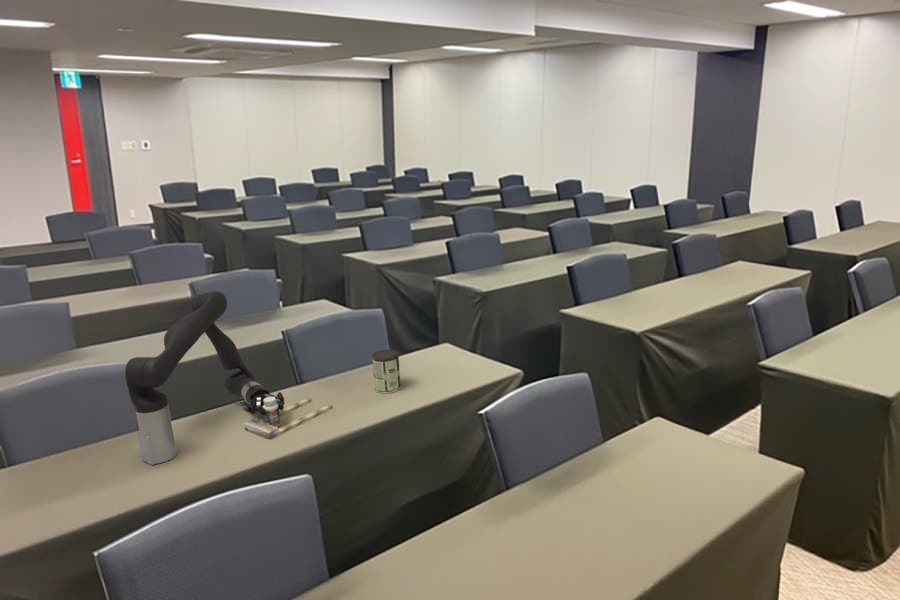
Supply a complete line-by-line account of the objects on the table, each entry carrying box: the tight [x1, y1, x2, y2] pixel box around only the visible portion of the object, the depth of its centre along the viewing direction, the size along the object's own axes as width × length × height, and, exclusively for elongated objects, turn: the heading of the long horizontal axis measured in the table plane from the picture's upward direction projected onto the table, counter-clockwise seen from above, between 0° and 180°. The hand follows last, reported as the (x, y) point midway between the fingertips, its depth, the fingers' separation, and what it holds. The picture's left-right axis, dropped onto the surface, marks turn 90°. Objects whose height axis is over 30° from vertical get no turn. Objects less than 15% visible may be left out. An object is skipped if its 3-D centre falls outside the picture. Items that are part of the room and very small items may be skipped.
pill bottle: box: [262, 397, 282, 428], centre depth 215 cm, size 5×5×10 cm
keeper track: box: [243, 397, 333, 441], centre depth 222 cm, size 28×13×2 cm, turn 143°
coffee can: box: [371, 349, 402, 394], centre depth 242 cm, size 10×10×14 cm
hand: (273, 410), depth 213 cm, fingers closed on pill bottle, 5 cm apart
